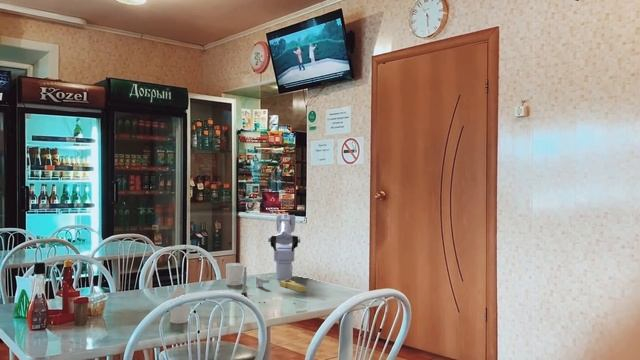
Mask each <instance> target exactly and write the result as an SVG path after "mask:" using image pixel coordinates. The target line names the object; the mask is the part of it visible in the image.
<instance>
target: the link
mask: <svg viewBox="0 0 640 360" xmlns="http://www.w3.org/2000/svg"><path fill="white" fill-rule="evenodd" d="M279 286H280V287H283V288H287V289H291V290H294V291H295V292H299V293H301V292H302V293H304V292H307V288H308V287H307V286H306V285H304V284H301V283H297V281H294V280H292V279H290V282H285V280H279Z"/></svg>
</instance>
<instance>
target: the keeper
mask: <svg viewBox="0 0 640 360" xmlns="http://www.w3.org/2000/svg"><path fill="white" fill-rule="evenodd" d="M255 278H256V279H255V280H256V281H255V287H256V288H263V287H264V284H270V280H269V279H268V278H265V277H262V276H256V277H255Z"/></svg>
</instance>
